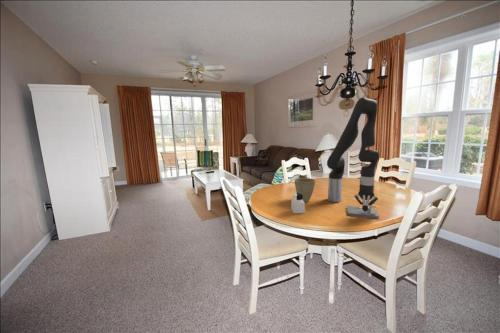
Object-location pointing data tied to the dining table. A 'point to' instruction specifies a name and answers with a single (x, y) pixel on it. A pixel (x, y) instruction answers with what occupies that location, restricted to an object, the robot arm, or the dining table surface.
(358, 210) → the console
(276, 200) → the dining table surface
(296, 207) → the medicine bottle
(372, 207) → the fader
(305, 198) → the plant pot
